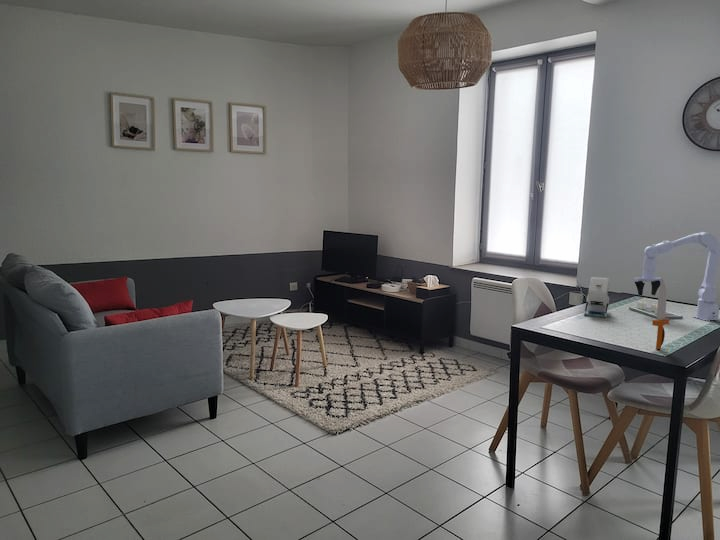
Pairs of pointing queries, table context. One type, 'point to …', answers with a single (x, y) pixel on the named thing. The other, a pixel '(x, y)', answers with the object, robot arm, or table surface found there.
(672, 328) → the table surface
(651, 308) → the breaker
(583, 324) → the table surface
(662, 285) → the knife
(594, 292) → the robotic device
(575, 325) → the table surface
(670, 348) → the table surface
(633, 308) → the panel
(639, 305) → the breaker
